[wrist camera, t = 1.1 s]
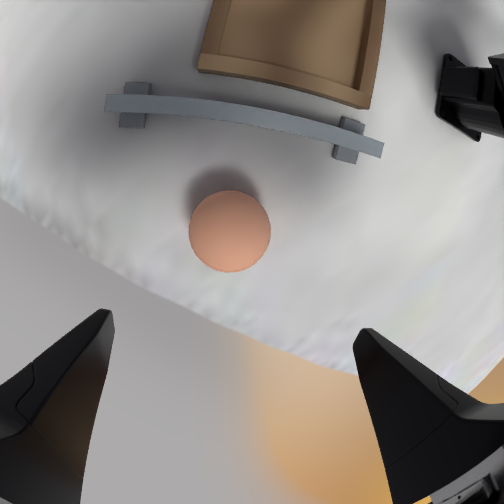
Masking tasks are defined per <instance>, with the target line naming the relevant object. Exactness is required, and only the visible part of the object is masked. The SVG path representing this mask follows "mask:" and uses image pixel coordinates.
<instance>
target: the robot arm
mask: <svg viewBox="0 0 504 504" xmlns="http://www.w3.org/2000/svg"><path fill="white" fill-rule="evenodd" d="M488 60H489V63H490V64H491V66H492V68H478V67H466V66H465V65H464V64H463V63H462V62H460V61H459V60H458V59H456V58H455V57H454V56H453V55H451V54H444V58H443V68H442V77H441V85H440V92H439V98H438V104H437V110H436V113H437V116H438V117H439V118H440V119H442V120H443V121H445V122H446V123H448V124H450V125H451V126H453V127H454V128H456V129H457V130H459V131H461V132H462V133H464V134H465V135H467V136H468V137H469V138H471V139H472V140H474V141H477V142H479V141H480V138H481V133H482V132H483V133H487V134H491V135H494V136H498V137H501V138H504V54H499V55H494V56H489V57H488ZM441 112H442V114H441ZM114 333H115V328H114V323H113V315H112V311H111V310H107V309H99V310H97V311H96V312H94V313H93V314H92V315H91V316H89V317H88V318H87V319H85V320H84V321H83V322H81V323H80V324H79V325H77V326H76V327H75V328H74V329H72V330H71V331H70V332H68V333H67V334H66V335H65V336H63V337H62V338H61V339H59V340H58V341H57V342H55V343H54V344H53V345H52V346H51V347H49V348H48V349H47V350H45V351H44V352H43V353H42V354H41V355H39V356H38V357H37V358H36V359H34V360H33V363H32V362H30V363H29V364H28V365H27V366H26V367H25V368H23V369H22V370H21V371H19V372H18V373H17V374H16V375H14V376H13V377H11V378H10V379H9V380H7V381H6V382H4V383H3V384H1V385H0V504H80V499H81V492H82V484H83V476H84V471H85V465H86V459H87V454H88V449H89V444H90V439H91V434H92V430H93V425H94V421H95V417H96V413H97V409H98V405H99V401H100V397H101V394H102V390H103V386H104V383H105V379H106V375H107V371H108V365H109V359H110V354H111V349H112V344H113V339H114ZM353 352H354V357H355V361H356V366H357V370H358V375H359V379H360V383H361V387H362V390H363V393H364V396H365V399H366V403H367V406H368V409H369V412H370V416H371V419H372V423H373V426H374V430H375V433H376V437H377V440H378V444H379V448H380V452H381V455H382V459H383V463H384V467H385V471H386V475H387V480H388V484H389V488H390V492H391V497H392V501H393V504H413V503H415V502H417V501H419V500H421V499H423V498H425V497H427V496H429V495H430V498H431V500H432V502H430V503H428V504H504V403H500V404H486V403H482V402H480V401H478V400H476V399H475V398H473V397H471V396H470V395H468V394H467V393H465V392H463V391H462V390H460V389H458V388H457V387H455V386H454V385H452V384H450V383H449V382H447V381H446V380H445V379H443V378H442V377H440V376H439V375H437V374H436V373H435V372H433V371H432V370H430V369H429V368H427V367H426V366H425V365H423V364H422V363H420V362H419V361H418V360H416V359H415V358H413V357H412V356H410V355H409V354H408V353H406V352H405V351H403V350H402V349H401V348H399V347H398V346H396V345H395V344H393V343H392V342H391V341H389V340H388V339H386V338H385V337H383V336H382V335H381V334H379V333H378V332H376V331H375V330H373V329H372V328H363V329H361V330H360V332H359V334H358V336H357V338H356V339H355V341H354V343H353Z"/></svg>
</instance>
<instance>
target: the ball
mask: <svg viewBox="0 0 504 504" xmlns="http://www.w3.org/2000/svg"><path fill="white" fill-rule="evenodd" d="M270 235H271V227H270V222H269V218H268V215H267V213H266V211H265V210H264V208H263V207H262V205H261V204H260V203H259V202H258V201H257V200H256V199H254V198H253V197H251V196H250V195H248V194H246V193H243V192H240V191H234V190H225V191H220V192H217V193H214V194H212V195H210V196H208V197H207V198H205V199H204V200H203V201H202V202H201V203H200V204H199V205H198V206H197V207H196V209H195V210H194V212H193V214H192V216H191V219H190V223H189V240H190V244H191V246H192V249H193V251H194V253H195V254H196V256H197V257H198V258H199V259H200V260H201V261H202V262H203V263H204V264H205V265H207V266H209V267H210V268H212V269H215V270H217V271H221V272H238V271H242V270H245V269H247V268H249V267H251V266H252V265H254V264H255V263H256V262H257V261H258V260H259V259H260V258H261V257H262V256H263V254H264V253H265V251H266V249H267V247H268V244H269V241H270Z"/></svg>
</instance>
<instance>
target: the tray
mask: <svg viewBox="0 0 504 504" xmlns="http://www.w3.org/2000/svg"><path fill="white" fill-rule="evenodd" d="M385 6H386V0H214V2H213V5H212V9H211V13H210V16H209V20H208V24H207V28H206V31H205V35H204V39H203V44H202V48H201V52H200V56H199V61H198V66H197V70H198V72H199V73H208V74H216V75H223V76H230V77H236V78H242V79H248V80H253V81H258V82H263V83H268V84H273V85H277V86H282V87H286V88H290V89H294V90H298V91H302V92H305V93H309V94H312V95H316V96H319V97H323V98H326V99H329V100H332V101H335V102H339V103H342V104H345V105H347V106H350V107H353V108H356V109H366V110H369V108H370V103H371V98H372V93H373V88H374V82H375V77H376V71H377V65H378V59H379V53H380V46H381V39H382V32H383V24H384V15H385Z"/></svg>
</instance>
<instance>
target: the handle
mask: <svg viewBox="0 0 504 504" xmlns="http://www.w3.org/2000/svg"><path fill="white" fill-rule="evenodd" d="M150 88H151V83H144V82H126V83H125V88H124V94H107V96H106V102H105V109H104V112H121V114H120V122H119V127H129V128H144V126H145V119H146V113H154V114H168V115H180V116H190V117H199V118H207V119H215V120H222V121H229V122H236V123H242V124H248V125H253V126H259V127H264V128H269V129H274V130H279V131H284V132H288V133H293V134H297V135H301V136H305V137H309V138H313V139H317V140H321V141H325V142H329V143H332V144H336V145H335V149H334V153H333V157H332V158H334V159H337V160H341V161H345V162H349V163H352V164H356V161H357V157H358V153H359V151H360V152H363V153H366V154H369V155H372V156H375V157H378V158H381V154H382V150H383V146H384V143H383V142H380V141H377V140H374V139H372V138H369V137H366V136H363V132H364V127H365V124H362V123H359V122H356V121H353V120H350V119H347V118H342V119H341V123H340V128H338V127H335V126H331V125H328V124H325V123H321V122H317V121H314V120H310V119H306V118H302V117H298V116H294V115H290V114H286V113H281V112H277V111H272V110H267V109H262V108H257V107H251V106H246V105H240V104H234V103H227V102H220V101H213V100H205V99H196V98H186V97H175V96H160V95H149V94H150Z"/></svg>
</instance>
